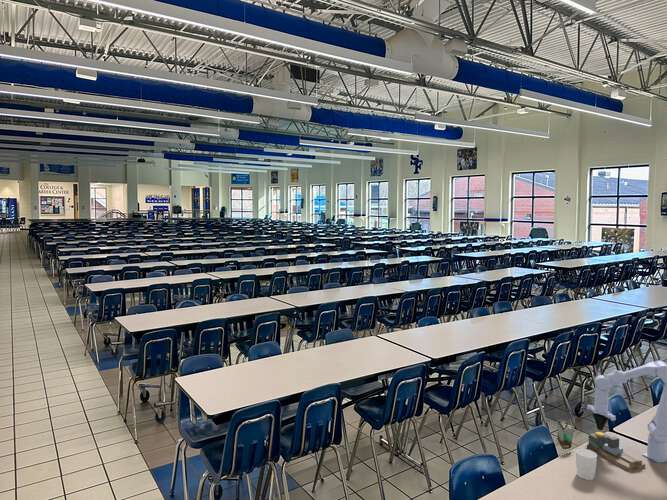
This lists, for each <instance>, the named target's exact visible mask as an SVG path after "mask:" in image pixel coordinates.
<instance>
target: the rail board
mask: <svg viewBox="0 0 667 500" xmlns="http://www.w3.org/2000/svg"><path fill="white" fill-rule="evenodd" d="M600 432H601V433H604V432H602V431H600ZM604 434H605V437H598V436H596V435H595V432H593V433H588V444H586V449H588V450H591V451H593V452H595V453H596V454H597V455H599V456H600V457H602V458H604V459H606V460H607V461H609V462H611V463H612V464H615V465H617V467H619V468H622V469H623V470H625V471H627V472H629V471H634V470H640V469H645V468H646V464H645V463H644V462H643V460H642V459H641V458H640V459H636V458H634V457H633V456H630V455H629V454H627V453H625V452H623V453H622V455H621V454H617V456H615V455H613V454H611V453H609V452H608V451H606V450H604V449H603V446H604V444H608V437H612V436H611V435H609V434H607V433H604Z"/></svg>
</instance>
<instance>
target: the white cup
mask: <svg viewBox="0 0 667 500" xmlns="http://www.w3.org/2000/svg"><path fill="white" fill-rule="evenodd" d="M597 459H598V454H597V453H595V452H593V451H592V450H590V449H588V448H577V449H576V450H575V464H576V468H575V469H576V475H577V476H578V477H579V478H580V479H582V480H587V481H592V480H594V479H595V478H596V477H595V476H596V471H597V464H598V463H597V462H598V461H597Z"/></svg>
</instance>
